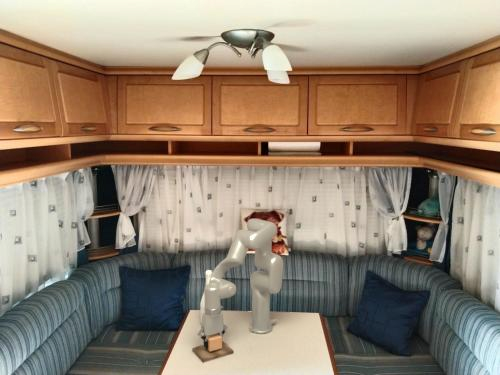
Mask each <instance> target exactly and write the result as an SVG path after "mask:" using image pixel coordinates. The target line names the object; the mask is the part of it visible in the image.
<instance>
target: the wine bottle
mask: <svg viewBox="0 0 500 375" xmlns="http://www.w3.org/2000/svg"><path fill="white" fill-rule="evenodd" d="M212 273H213V270H211V269H206V271H205V273H204V274H205V286H206V285H208V284H209V282H210V278H211V276H212ZM199 304H200V306H199V307H200V308H199V310H200V314H199V315H200V319H199V320H200V323H201V322H202V316H203V313H205V297H204V292H203V293H202V296H201V300H200V303H199Z"/></svg>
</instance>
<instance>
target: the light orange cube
mask: <svg viewBox="0 0 500 375" xmlns="http://www.w3.org/2000/svg"><path fill="white" fill-rule="evenodd" d="M207 341H208V350H209V351H214V350H217V349H221V348H222V341H223V337H221V336H220V335H219V334H218V333H216V334H212V335H209V337H208V340H207Z"/></svg>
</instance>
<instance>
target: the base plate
mask: <svg viewBox="0 0 500 375" xmlns="http://www.w3.org/2000/svg"><path fill="white" fill-rule="evenodd" d="M191 349H192V350H191V351H192V352H193V353H194V355H196V357H197V358H198V359H199V360H200V361H201V362H202V363H206V362H210V361H212V360H216V359H219V358H220V359H221V358H222V357H223V358H224V357H226V356H228V355H229V356H230V355H233V354H234V352H235V351H234V350H233V348H231V346H229V345H228V344H227V343H226V342H225V341H224V340H222V348H221V349H217V350H214V351H209V350H208V349H206V348H205V347H204V344H203V345H199V346H195V347H191Z"/></svg>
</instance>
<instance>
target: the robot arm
mask: <svg viewBox="0 0 500 375" xmlns="http://www.w3.org/2000/svg"><path fill="white" fill-rule="evenodd" d="M246 228H247V229H238V230H237V231H236V232H235V235H234V237H233V240H232V242H231V245H230V248H229V250H228V253H227V256H226V257H225V258H224V259H222V261H220V262H219V263H218V264H217V265H216V267H215V268H214V270H212V276H211V278H210V282H209V284H208V285H206V284H205V286H204V291H203V293H204V297H205V313H203V316H202V322H200V326H201V327H200V330H199V331H198V332H197V336H198V337H199V338H201V339H202V340H203V345H204V347H205V348H206V349H208V341H207V340H208V337H209V335H212V334H216V333H218V334H219V335H220V336H221V337H222V338H223V336H224V335H225V333H226V331H227V330H228V326H227V325H226V324H224V316H223V312H222V309H224V306H223V305H222V304H221V301H222V300H223V299H228V298H232V297H233V296H235V294H236V292H237V287H236V284H234V283H233V282H231V281H228V280H227V279H223V278H224V275H225V274H226V272H227V271H229V270H230V269H232V268H234V267H238V266H241V265H243V264H244V262H245V259H246V255H247V254H248V251H249V249H250V250H254V260H253V261H254V262H253V263H254V266H255V267H256V268H257V269H260V270H255V271H253V272H252V273H251V275H250V278H249V285H250V289H251V323H249V325H248V330H249V331H250V332H252V333H254V334H258V335H259V334H260V335H261V334H267V333H270V332H271V331H272V330H273V325H272V324H275V323H277V322H278V319H277V318H272V317H271V316H270V315H271V314H270V313H271V312H270V311H271V310H270V308H271V302H270V301H271V295H273V294H274V295H276V294H279V292H280V291H281V289H282V286H283V285H282V284H283V276H284V260H283V258H282V257H281V256H280V255H279V254H276V253H273V251H272V245H273V244H272V243H273V242H272V239H274V238H275V236H276V235H277V232H278V227H277V225H276V223H274V222H272V221H268V220H264V219H261V218H250V219H249V220H247V222H246ZM270 294H271V295H270Z"/></svg>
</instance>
